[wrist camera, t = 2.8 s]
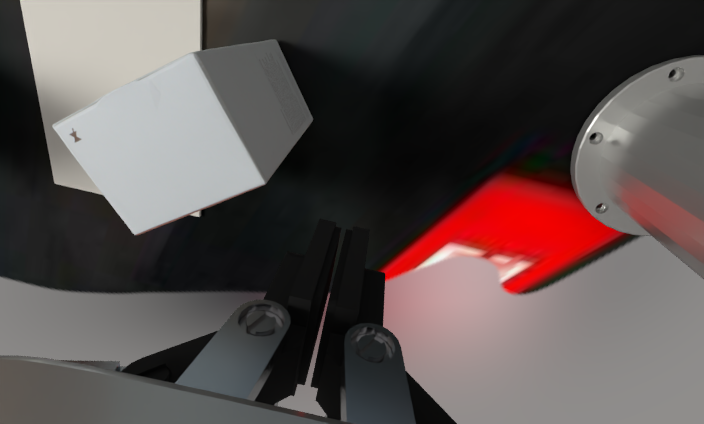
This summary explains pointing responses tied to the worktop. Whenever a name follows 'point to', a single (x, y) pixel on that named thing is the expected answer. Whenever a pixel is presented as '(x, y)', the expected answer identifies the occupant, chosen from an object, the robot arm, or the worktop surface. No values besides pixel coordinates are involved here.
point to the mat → (99, 57)
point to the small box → (189, 132)
